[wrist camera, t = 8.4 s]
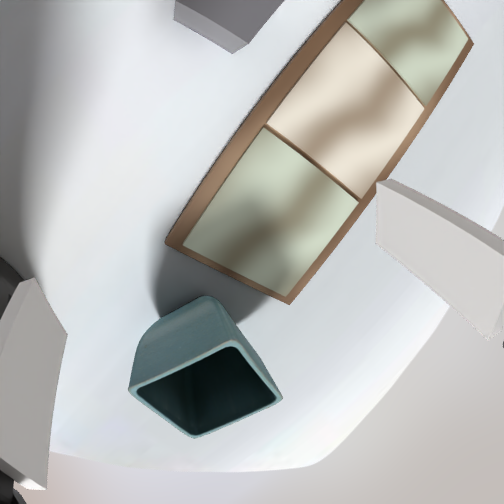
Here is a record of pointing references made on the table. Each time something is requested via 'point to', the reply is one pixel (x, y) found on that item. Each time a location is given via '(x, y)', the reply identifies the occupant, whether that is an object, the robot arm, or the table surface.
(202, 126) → the table surface
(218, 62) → the table surface
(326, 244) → the board
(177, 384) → the flower pot
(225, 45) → the gray block
